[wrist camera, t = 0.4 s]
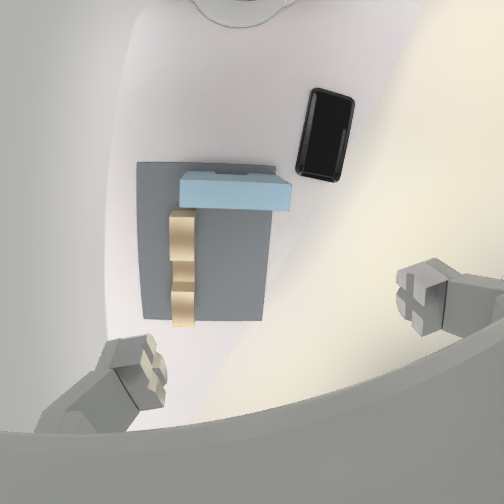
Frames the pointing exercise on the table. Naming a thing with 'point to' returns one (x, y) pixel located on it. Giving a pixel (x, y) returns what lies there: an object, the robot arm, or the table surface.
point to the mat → (202, 246)
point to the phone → (325, 135)
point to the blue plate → (234, 191)
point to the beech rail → (183, 265)
